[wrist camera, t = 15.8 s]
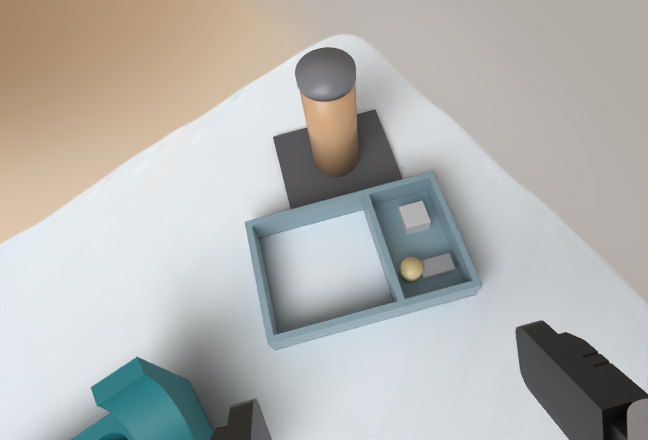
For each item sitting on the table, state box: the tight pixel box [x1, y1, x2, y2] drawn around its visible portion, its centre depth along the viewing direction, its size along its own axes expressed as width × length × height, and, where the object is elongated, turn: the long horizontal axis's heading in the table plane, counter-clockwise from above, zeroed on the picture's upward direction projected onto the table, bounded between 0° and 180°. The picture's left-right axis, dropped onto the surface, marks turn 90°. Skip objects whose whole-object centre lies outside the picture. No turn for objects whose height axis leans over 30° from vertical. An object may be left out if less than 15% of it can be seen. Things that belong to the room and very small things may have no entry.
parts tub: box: [245, 171, 482, 350], centre depth 42 cm, size 19×12×3 cm, turn 104°
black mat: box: [273, 110, 402, 209], centre depth 48 cm, size 12×10×1 cm
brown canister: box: [295, 48, 359, 177], centre depth 42 cm, size 5×5×13 cm
